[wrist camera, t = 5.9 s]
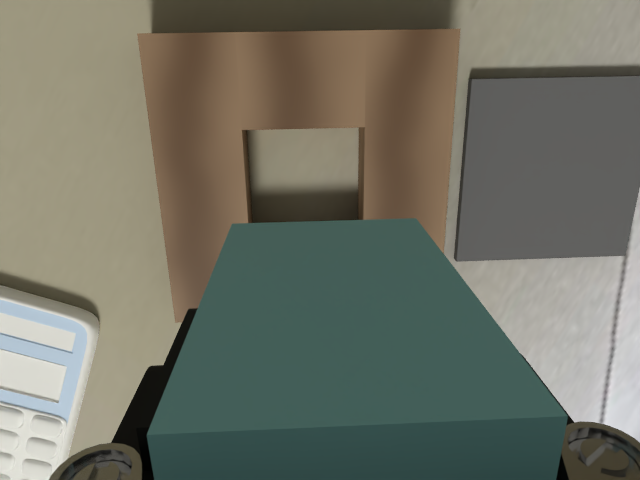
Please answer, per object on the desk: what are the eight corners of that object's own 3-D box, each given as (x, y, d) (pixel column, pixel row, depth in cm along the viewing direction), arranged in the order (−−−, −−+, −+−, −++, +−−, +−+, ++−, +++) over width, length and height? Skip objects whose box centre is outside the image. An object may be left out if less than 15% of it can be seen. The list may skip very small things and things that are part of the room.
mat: (656, 75, 28) (662, 75, 28) (620, 252, 32) (625, 255, 32) (468, 79, 28) (471, 79, 28) (454, 258, 32) (456, 261, 31)
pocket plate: (445, 31, 27) (460, 28, 25) (428, 294, 32) (439, 312, 30) (151, 36, 26) (137, 33, 24) (184, 303, 32) (175, 322, 30)
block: (416, 218, 13) (568, 416, 6) (407, 373, 15) (518, 680, 8) (231, 223, 13) (146, 435, 6) (244, 380, 15) (192, 702, 7)
